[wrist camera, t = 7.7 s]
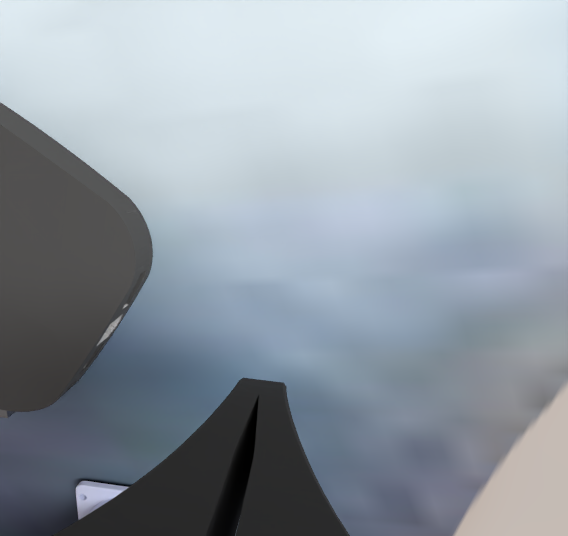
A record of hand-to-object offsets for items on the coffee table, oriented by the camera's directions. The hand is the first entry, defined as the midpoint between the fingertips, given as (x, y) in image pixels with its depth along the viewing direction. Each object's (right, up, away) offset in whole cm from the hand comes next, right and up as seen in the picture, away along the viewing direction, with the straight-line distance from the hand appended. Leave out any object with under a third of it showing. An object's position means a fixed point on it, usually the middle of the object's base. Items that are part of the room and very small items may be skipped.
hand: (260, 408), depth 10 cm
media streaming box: (-15, +5, +9) cm, 18 cm away
